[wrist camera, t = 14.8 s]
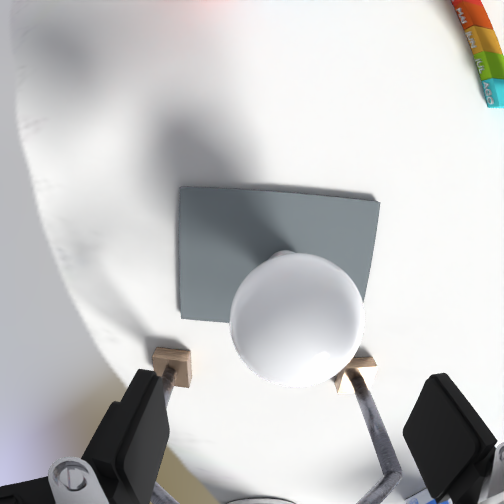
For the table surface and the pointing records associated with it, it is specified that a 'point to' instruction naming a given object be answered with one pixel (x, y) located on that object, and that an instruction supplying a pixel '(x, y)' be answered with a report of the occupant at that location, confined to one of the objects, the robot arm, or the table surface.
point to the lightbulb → (297, 319)
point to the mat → (263, 240)
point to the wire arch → (347, 381)
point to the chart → (483, 49)
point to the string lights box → (424, 499)
